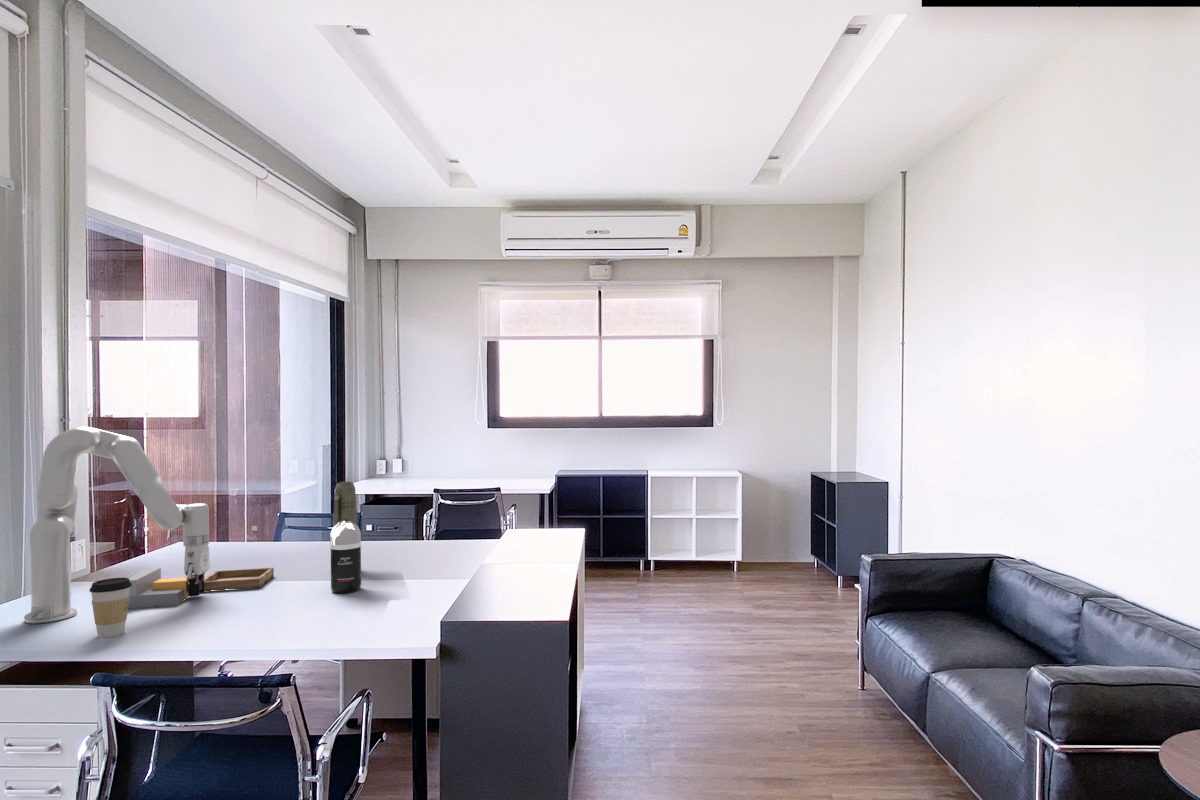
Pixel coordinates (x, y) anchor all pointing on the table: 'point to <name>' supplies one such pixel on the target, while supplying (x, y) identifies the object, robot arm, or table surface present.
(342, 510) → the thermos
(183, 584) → the orange wooden block
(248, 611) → the table surface
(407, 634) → the table surface
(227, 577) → the tray
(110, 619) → the coffee cup
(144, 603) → the dock
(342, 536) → the spray bottle
